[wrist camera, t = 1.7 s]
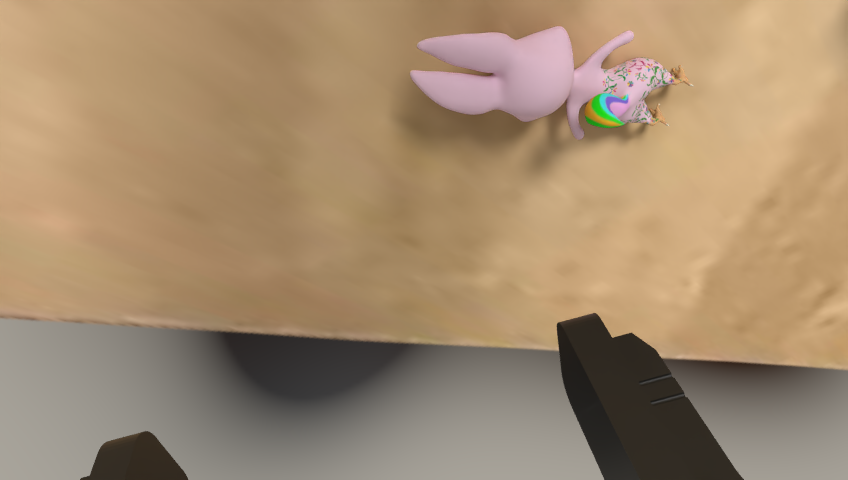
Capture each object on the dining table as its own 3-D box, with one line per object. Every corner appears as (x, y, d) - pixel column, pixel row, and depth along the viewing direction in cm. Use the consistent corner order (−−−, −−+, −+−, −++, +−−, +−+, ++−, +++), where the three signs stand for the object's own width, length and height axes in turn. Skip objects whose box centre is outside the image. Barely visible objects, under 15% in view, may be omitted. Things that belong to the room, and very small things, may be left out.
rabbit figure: (679, 25, 31) (421, -23, 26) (750, 79, 27) (460, 35, 22) (625, 124, 35) (391, 100, 30) (679, 184, 31) (419, 168, 26)
